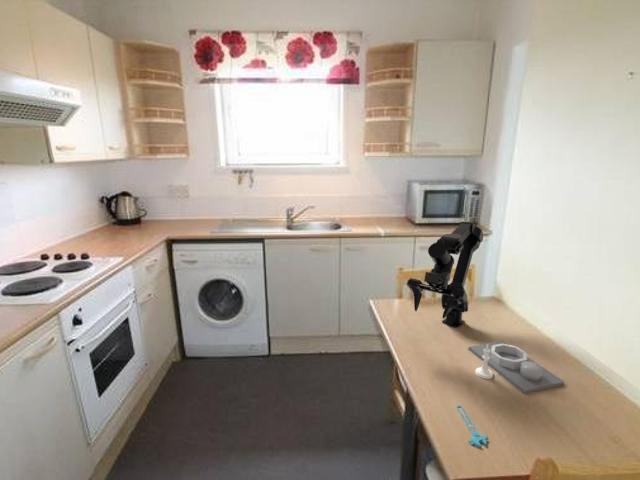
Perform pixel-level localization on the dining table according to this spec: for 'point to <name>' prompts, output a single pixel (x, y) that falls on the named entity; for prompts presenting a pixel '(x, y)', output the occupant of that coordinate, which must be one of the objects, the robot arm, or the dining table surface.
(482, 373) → the chess piece
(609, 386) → the dining table surface
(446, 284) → the robot arm
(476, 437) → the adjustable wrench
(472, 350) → the carrier plate
